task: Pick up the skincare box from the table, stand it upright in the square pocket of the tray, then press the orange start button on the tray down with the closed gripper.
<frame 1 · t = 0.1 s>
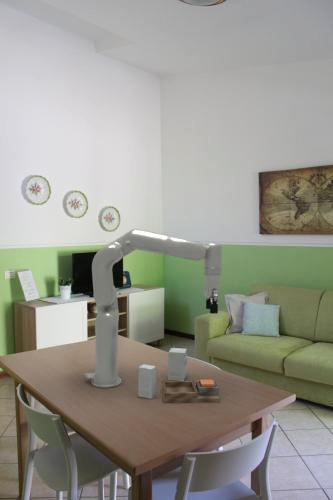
hand: (211, 311, 187), 31 cm above the table, tool pointing down, fingers open, 9 cm apart
start button: (207, 384, 174), point 4 cm above the table, slide at 0.0 cm
skincare box: (147, 396, 172), on the table
tray: (189, 395, 173), on the table
supplement box: (177, 378, 193), on the table
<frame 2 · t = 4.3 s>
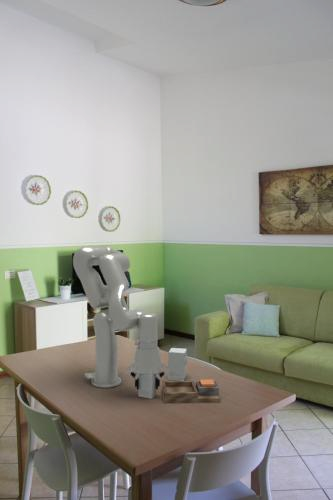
hand: (147, 388, 172), 3 cm above the table, tool pointing down, fingers closed on skincare box, 7 cm apart
skincare box: (147, 396, 172), on the table, touching gripper
everything else where it was.
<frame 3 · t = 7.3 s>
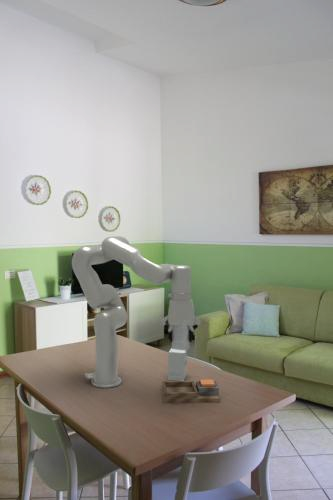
hand: (180, 340, 172), 22 cm above the table, tool pointing down, fingers closed on skincare box, 7 cm apart
skincare box: (180, 349, 172), point 19 cm above the table, touching gripper
everything else where it was.
when the fingers open (5 cm above the table, at t = 10.3 s): skincare box stays where it is, resting on tray.
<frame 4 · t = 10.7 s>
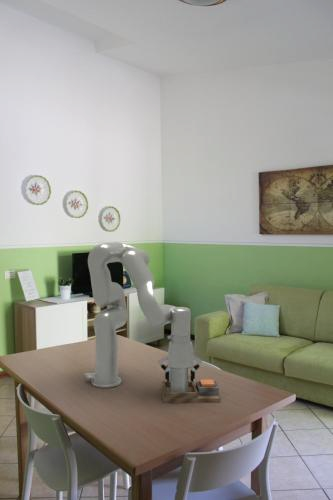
hand: (179, 380, 173), 6 cm above the table, tool pointing down, fingers open, 9 cm apart
skincare box: (179, 392, 173), point 1 cm above the table, touching tray
everything else where it was.
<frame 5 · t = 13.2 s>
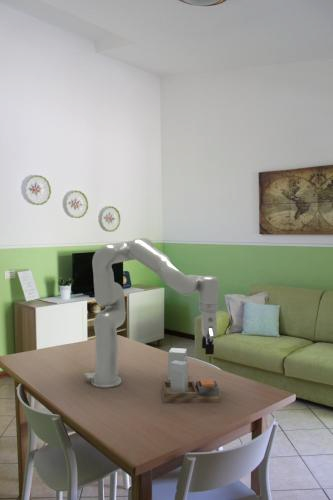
hand: (207, 350, 173), 18 cm above the table, tool pointing down, fingers open, 7 cm apart
nothing on the table moved.
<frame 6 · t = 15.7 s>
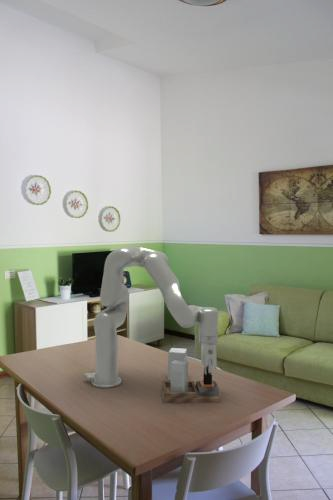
hand: (207, 383, 173), 5 cm above the table, tool pointing down, fingers closed
start button: (207, 386, 174), point 3 cm above the table, slide at 0.8 cm, touching gripper
everything else where it was.
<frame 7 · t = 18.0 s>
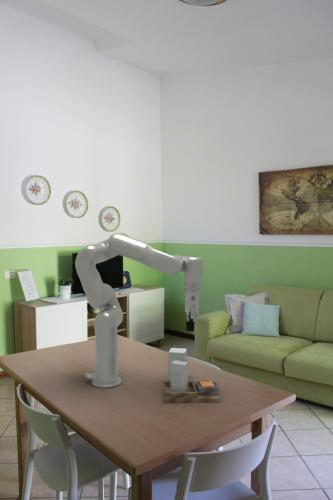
hand: (189, 330, 179), 25 cm above the table, tool pointing down, fingers closed
start button: (207, 386, 174), point 3 cm above the table, slide at 0.8 cm
everything else where it was.
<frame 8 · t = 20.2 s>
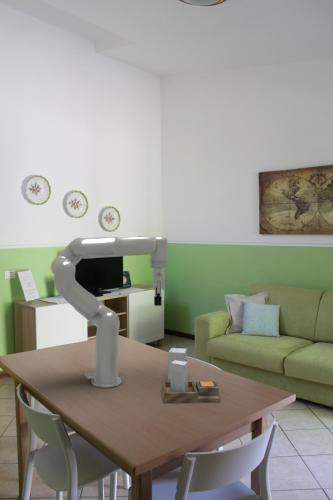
hand: (157, 305, 193), 32 cm above the table, tool pointing down, fingers closed
nothing on the table moved.
at the end: skincare box inside the target area on the tray (0.2 cm from its centre), point 1.3 cm above the tray's base; skincare box tilted 0°; start button slide at 0.8 cm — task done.
